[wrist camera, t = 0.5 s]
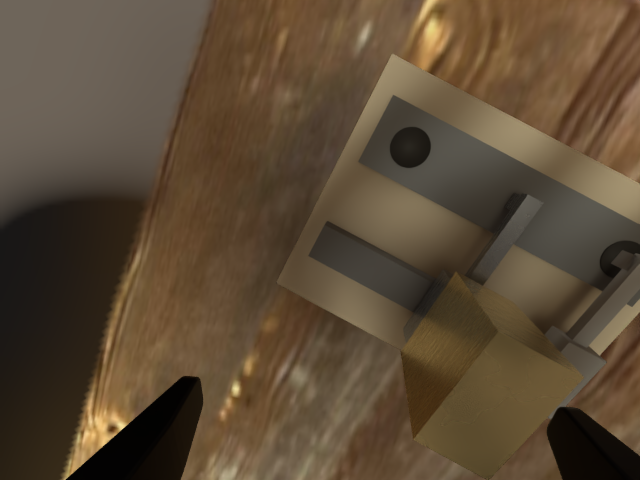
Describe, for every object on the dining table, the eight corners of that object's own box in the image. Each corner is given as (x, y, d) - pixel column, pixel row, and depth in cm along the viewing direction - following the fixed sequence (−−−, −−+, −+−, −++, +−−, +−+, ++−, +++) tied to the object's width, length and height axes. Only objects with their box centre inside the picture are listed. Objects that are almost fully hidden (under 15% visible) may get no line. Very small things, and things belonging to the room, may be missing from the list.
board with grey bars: (696, 220, 17) (787, 240, 14) (527, 408, 22) (561, 464, 18) (390, 60, 18) (396, 34, 14) (281, 276, 22) (261, 302, 18)
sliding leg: (549, 209, 17) (697, 256, 9) (443, 352, 19) (488, 480, 12) (495, 180, 17) (597, 204, 9) (397, 327, 19) (413, 439, 12)
